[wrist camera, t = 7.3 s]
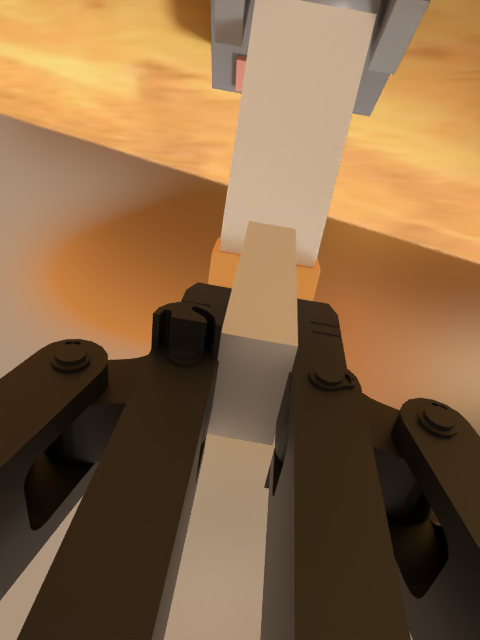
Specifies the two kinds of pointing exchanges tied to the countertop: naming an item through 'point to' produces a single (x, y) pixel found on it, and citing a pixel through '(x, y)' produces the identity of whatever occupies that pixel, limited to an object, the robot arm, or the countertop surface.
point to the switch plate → (382, 57)
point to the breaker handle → (293, 125)
